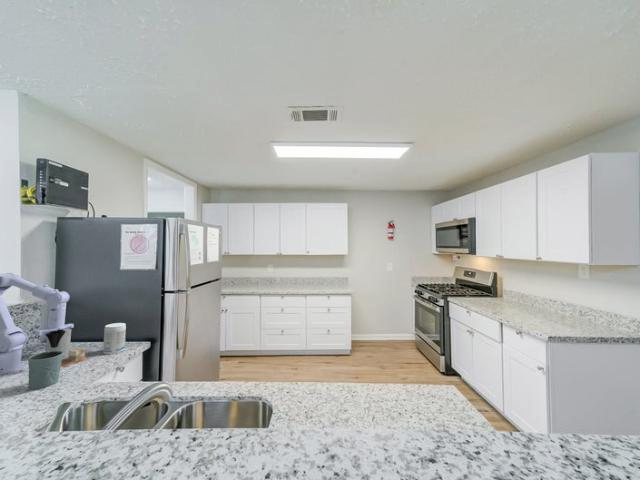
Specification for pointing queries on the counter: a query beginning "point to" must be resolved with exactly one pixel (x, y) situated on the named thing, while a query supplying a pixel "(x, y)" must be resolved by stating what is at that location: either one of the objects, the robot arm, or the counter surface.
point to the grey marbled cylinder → (61, 343)
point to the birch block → (76, 354)
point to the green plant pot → (44, 369)
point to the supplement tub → (114, 338)
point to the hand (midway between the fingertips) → (54, 347)
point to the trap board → (71, 361)
